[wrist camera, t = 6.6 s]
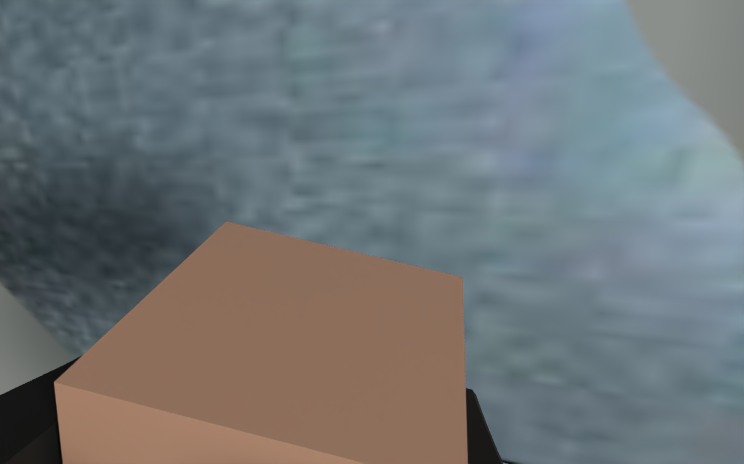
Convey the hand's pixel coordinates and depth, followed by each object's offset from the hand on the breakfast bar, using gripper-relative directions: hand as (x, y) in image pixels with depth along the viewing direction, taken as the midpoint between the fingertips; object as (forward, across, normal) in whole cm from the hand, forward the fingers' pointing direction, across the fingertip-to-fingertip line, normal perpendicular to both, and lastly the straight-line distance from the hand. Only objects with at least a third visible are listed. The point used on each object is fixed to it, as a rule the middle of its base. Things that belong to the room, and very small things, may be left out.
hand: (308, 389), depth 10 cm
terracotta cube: (+1, 0, 0) cm, 1 cm away
